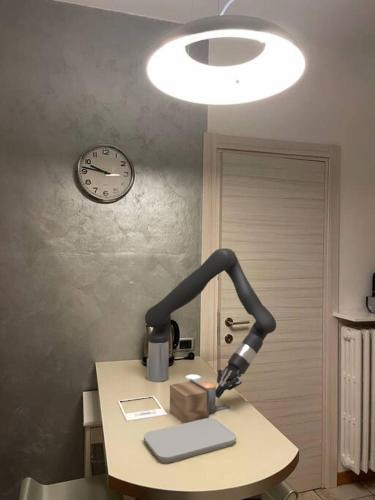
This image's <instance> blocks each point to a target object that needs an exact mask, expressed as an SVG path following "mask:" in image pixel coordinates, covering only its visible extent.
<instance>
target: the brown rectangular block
mask: <svg viewBox="0 0 375 500" xmlns="http://www.w3.org/2000/svg"><path fill="white" fill-rule="evenodd" d="M228 409H231V406H229V405H228V404H226V403H222V404H220V405H216V410H215V412H212V413H211V414H213V413H216V412H217V413H218V412H220V411H223V410H228ZM169 413H170V414H171V415H172V416H173V417H174V418H175V419H177V420H178V421H179V422H180V423H181V424H184V423H188V422H193V421H197V420H201V419H206V418H210V413H209V390H208V389H207V388H205V387H203V386H202V385H200V384H198V383H197V382H195V381H193V380H192V379H190V381H188V382H185V381H183V382H179V383H175V384H169Z"/></svg>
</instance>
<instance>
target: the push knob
mask: <svg viewBox="0 0 375 500" xmlns="http://www.w3.org/2000/svg"><path fill="white" fill-rule="evenodd" d="M199 384H200V385H202V386H203V387H205V388H207V389H208V390H209V414H213V413H216V412H215V410H216V406H217V404H216V400H217V399H216V398H217V397H216V389H217V385H216V382H213V381H210V380H209V381H201V383H199ZM212 412H213V413H212Z"/></svg>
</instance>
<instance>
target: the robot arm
mask: <svg viewBox="0 0 375 500" xmlns="http://www.w3.org/2000/svg"><path fill="white" fill-rule="evenodd" d="M222 272H225V273H226V274H227V276H228V277H229V278H230V281H232V284H233V286H234V289H235V292H236V294H237V297H238V300H239V301H240V303H241V306H243V307H244V310H245V311H246V313H247V314H248V315H250V316H252V317H253V319H254V320H255V322H254V323H253V324H252V326H251V328H250V330H249V332H248V334H247V335H246V337H244V339H243V340H242V342H241V343H240V344H239V345H238V346H237V348H236V349H235V350H234V352H233V354H232V355H231V356H230V358H229V359H228V361H227V363H228V364H227V366H225V368H224V369H218V371H217V377H216V383H217V384H218V386H216V398H218V399H220V398H221V397H222V395H223V394H224V392H225V391H227V390H228V391H232V390H233V389H235V388H237V387H238V386H240V385H242V381H241V376H242V375H244V374H245V373H246V371H248V369H249V367H250V366H251V364H252V363H253V362H254V360H255V358H256V355H257V354H258V353H259V351H260V349H261V348H262V346H263V344H264V341H265V339H266V337H267V336H268V334H271V333H273V332H275V330H276V328H277V322H276V319H275V317H274V315H273V314H272V313H271V311H269V310H268V309H267V308H266V307H265V305H264V304H263V303H262V302H261V299H260V298H259V296H258V295H257V294H256V292H255V290H254V289H253V287H252V285H251V284H250V282H249V280H248V278H247V277H246V274H245V273H244V271H243V268H242V266H241V264H240V261H239V259H238V257H237V255H236V252H235V251H233V250H232V249H230V248H225V247H224V248H218V249H216V250H215V251H213V252H212V253H211V254H210V256H209V257H208V258H207V259H206V260H205V261H204V262H203V263H202V264H201V265H200V266H199V267H198V268H197V269H195V270H193V271H192V272H191V273H190V274H188V276H186V277H185V278H184V279H183V280H182V281H181V282H179V283H178V284H177V286H176V287H174V288H173V289H172V290H171V291H170V292H169V293H168V294H167V295H165V297H164V298H163V299H161V300H160V301H159V302H157V303H156V304H155V305H153V306H151V307H149V309H148V310H147V311H146V313H145V315H144V321H145V324H146V325H147V326H148V327H150V328H152V330H151V332H150V334H148V357H147V358H146V380H149V381H150V382H156V383H157V382H158V383H159V382H165V381H167V380H169V365H170V363H169V360H170V358H169V356H170V355H169V349H170V348H169V347H170V346H169V337H170V335H171V323H172V322H171V320H172V317H171V315H172V313H174V312H175V311H177V310H179V309H181V308H183V307H185V306H186V305H188V304H189V303H190V302H193V300H195V298H196V297H198V296H199V295H200V294H201V293H202V292H203V291H204V289H206V287H207V285H208V284H209V282H211V280H212V279H214V278H216V276H218V275H220V274H221V273H222Z"/></svg>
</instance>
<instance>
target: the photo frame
mask: <svg viewBox="0 0 375 500" xmlns="http://www.w3.org/2000/svg"><path fill="white" fill-rule="evenodd" d="M149 397H151V398H153V400H154V402H155V403H156V405H157V406H158V407H159V408H156V409H150V410H143V411H136V412H130V413H129V412H128V413H126V412H125V410H124V408H123V405H122V403H121V402H120V401H123V402H129V401H128V400H130V401H136V400H143V398H144V399H150V398H149ZM117 404H118V406H119V408H121V409H120V411H121V413H122V415H123V417H124V419H125V421H126V423H130V422H136V421H141V420H147V419H148V420H149V419H155V418H161V417H167V416H168V413H167V412H166V410H165V409H164V407H162V405H161V403H160V402H159V401H158V399H157V398H156V397H155V395H149V396H144V397H143V396H142V397H136V398H128V399H123V400H117Z"/></svg>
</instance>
